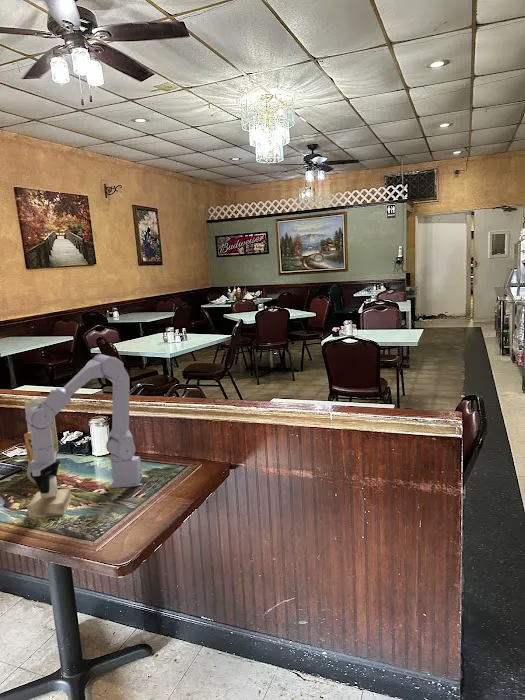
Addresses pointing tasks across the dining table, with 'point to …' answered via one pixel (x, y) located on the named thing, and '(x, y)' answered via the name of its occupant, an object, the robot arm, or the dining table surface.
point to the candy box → (29, 447)
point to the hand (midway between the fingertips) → (48, 488)
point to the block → (49, 504)
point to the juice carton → (33, 403)
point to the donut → (29, 470)
